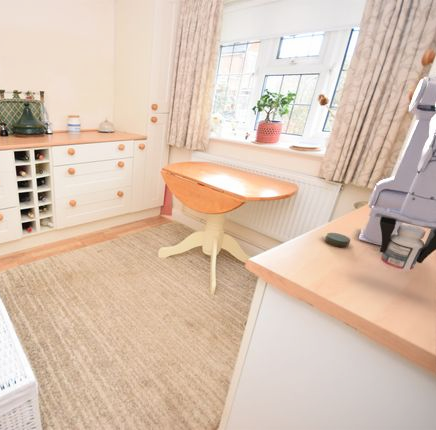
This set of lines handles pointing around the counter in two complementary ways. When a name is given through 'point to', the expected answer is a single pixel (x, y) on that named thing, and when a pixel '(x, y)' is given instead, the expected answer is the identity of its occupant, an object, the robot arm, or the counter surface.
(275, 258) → the counter surface
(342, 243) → the coaster stack
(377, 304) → the counter surface
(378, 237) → the robot arm
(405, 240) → the pill bottle
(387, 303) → the counter surface
